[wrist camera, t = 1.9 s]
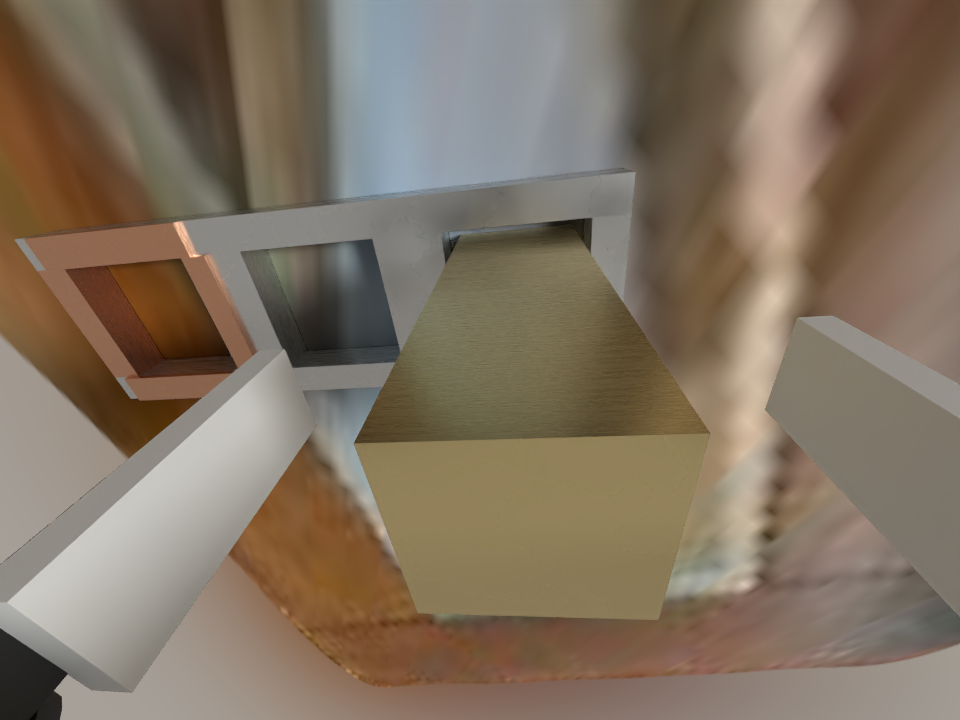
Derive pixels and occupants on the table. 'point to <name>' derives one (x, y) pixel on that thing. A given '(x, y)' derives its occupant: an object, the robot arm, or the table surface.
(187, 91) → the table surface
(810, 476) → the table surface
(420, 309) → the triple square frame
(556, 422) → the brass post
